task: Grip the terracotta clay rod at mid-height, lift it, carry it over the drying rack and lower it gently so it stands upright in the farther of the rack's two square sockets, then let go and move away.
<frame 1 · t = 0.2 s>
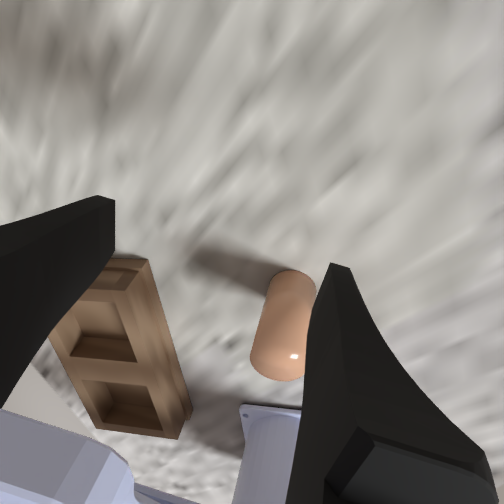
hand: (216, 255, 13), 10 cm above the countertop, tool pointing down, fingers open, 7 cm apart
rack: (126, 341, 32), on the countertop
clay rod: (292, 289, 26), on the countertop
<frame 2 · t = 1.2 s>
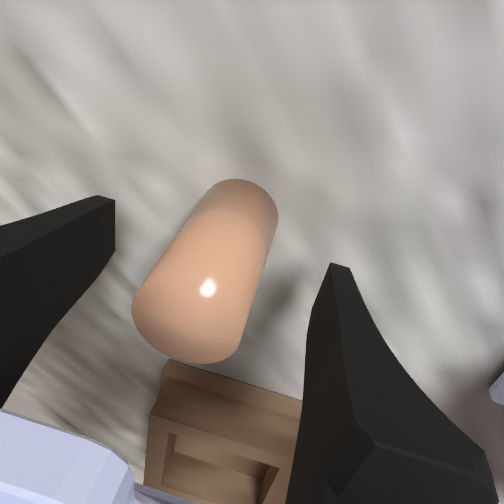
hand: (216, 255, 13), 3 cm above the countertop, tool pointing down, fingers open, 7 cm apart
rack: (297, 446, 23), on the countertop
clay rod: (239, 215, 16), on the countertop
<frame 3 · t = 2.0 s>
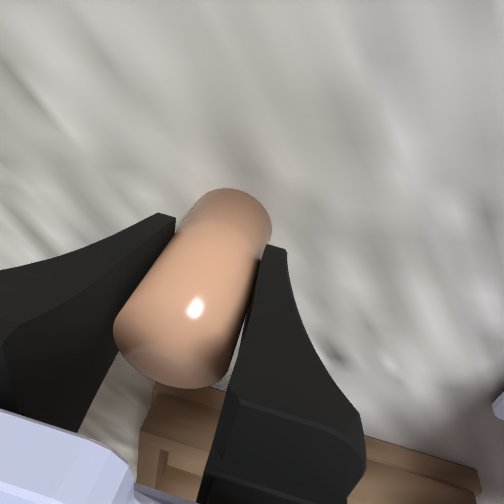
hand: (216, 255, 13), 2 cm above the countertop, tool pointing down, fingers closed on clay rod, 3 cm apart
rack: (294, 460, 22), on the countertop
clay rod: (231, 226, 15), on the countertop, touching gripper
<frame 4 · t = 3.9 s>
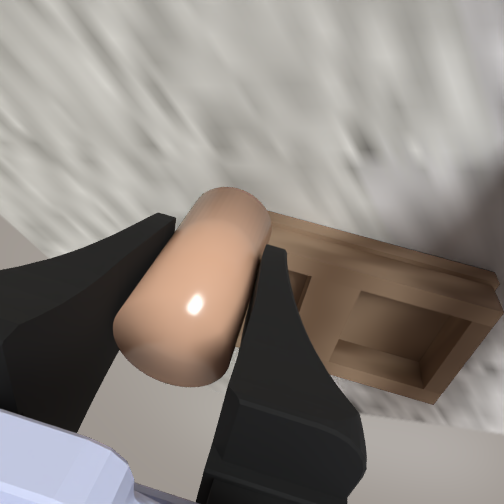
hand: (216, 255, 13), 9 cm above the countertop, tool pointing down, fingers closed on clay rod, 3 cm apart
rack: (324, 287, 24), on the countertop
clay rod: (231, 225, 15), point 7 cm above the countertop, touching gripper
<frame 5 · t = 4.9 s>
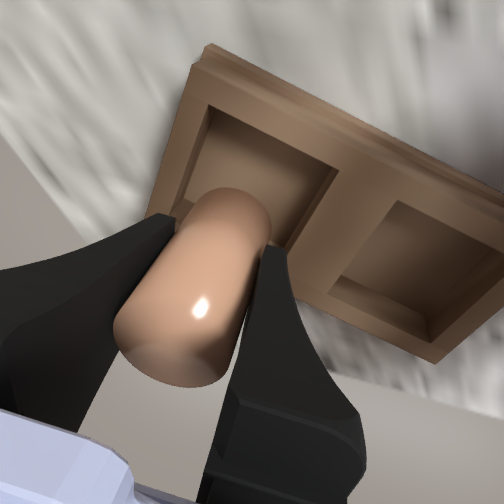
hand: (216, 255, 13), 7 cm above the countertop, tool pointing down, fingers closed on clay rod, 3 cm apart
rack: (335, 205, 20), on the countertop
clay rod: (231, 225, 15), point 6 cm above the countertop, touching gripper
when the fingers open (4 cm above the countertop, at t = 5.8 s): clay rod drops 1 cm, resting on rack.
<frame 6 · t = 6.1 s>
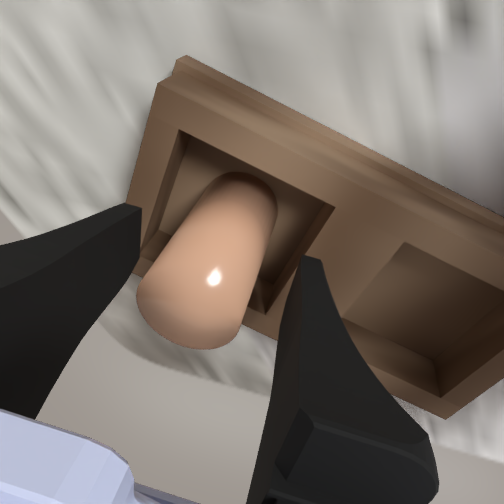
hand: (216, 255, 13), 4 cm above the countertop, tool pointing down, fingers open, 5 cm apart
rack: (331, 238, 17), on the countertop
clay rod: (240, 207, 16), point 1 cm above the countertop, touching rack
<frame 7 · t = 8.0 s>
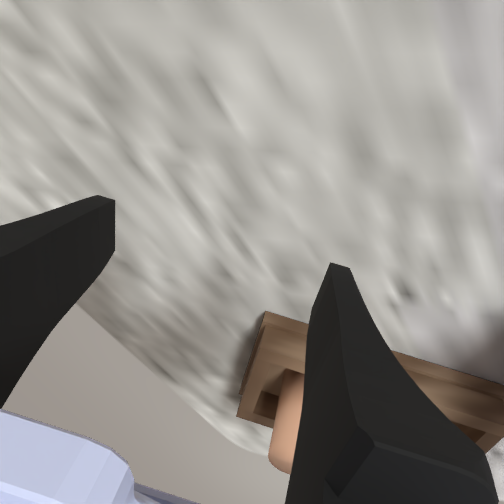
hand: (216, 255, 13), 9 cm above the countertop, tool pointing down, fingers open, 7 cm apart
rack: (360, 384, 29), on the countertop
clay rod: (305, 378, 28), point 1 cm above the countertop, touching rack
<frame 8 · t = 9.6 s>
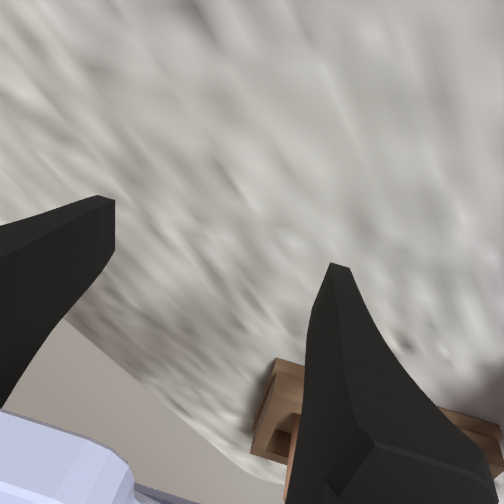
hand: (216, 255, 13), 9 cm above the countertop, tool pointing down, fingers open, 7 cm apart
rack: (365, 422, 31), on the countertop
clay rod: (313, 418, 30), point 1 cm above the countertop, touching rack
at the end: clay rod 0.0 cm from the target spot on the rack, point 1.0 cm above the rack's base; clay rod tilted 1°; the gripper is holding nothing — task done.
